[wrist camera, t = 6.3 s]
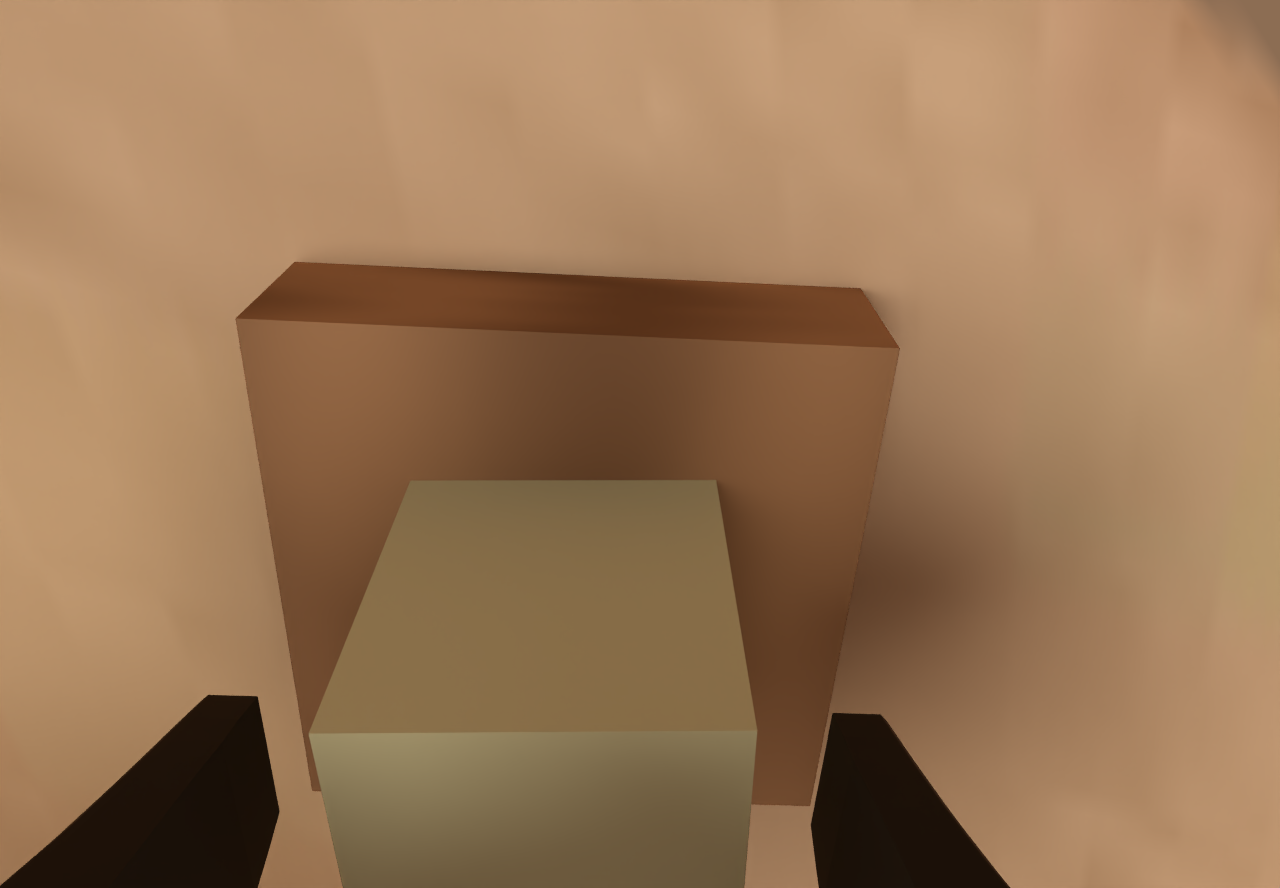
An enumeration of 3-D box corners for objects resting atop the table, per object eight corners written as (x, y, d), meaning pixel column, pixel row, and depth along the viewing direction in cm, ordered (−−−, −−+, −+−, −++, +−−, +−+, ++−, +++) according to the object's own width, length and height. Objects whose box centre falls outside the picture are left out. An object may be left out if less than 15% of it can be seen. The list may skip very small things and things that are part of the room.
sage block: (440, 708, 16) (368, 1003, 12) (410, 480, 14) (308, 734, 9) (705, 707, 16) (734, 999, 12) (715, 479, 14) (757, 731, 9)
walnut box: (356, 675, 19) (312, 790, 17) (304, 252, 15) (235, 318, 13) (786, 689, 20) (809, 806, 17) (854, 278, 15) (900, 348, 13)
